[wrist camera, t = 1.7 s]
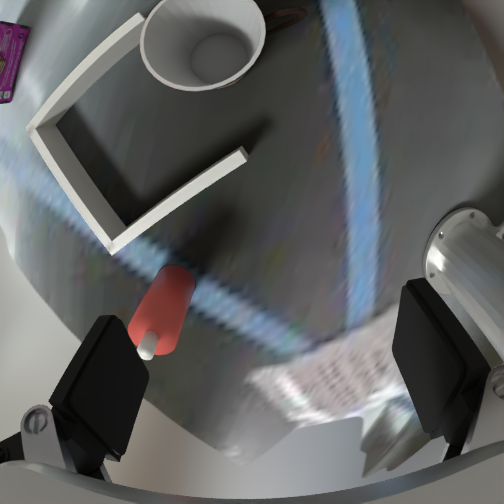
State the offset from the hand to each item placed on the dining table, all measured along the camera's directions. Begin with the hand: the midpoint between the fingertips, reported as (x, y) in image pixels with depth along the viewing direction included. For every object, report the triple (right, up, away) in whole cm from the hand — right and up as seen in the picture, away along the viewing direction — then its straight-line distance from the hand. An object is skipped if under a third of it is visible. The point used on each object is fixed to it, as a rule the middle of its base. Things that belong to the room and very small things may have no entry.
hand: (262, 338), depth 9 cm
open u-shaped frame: (-13, +15, +18) cm, 27 cm away
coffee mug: (-2, +22, +15) cm, 26 cm away
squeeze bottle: (-10, -1, +26) cm, 28 cm away
